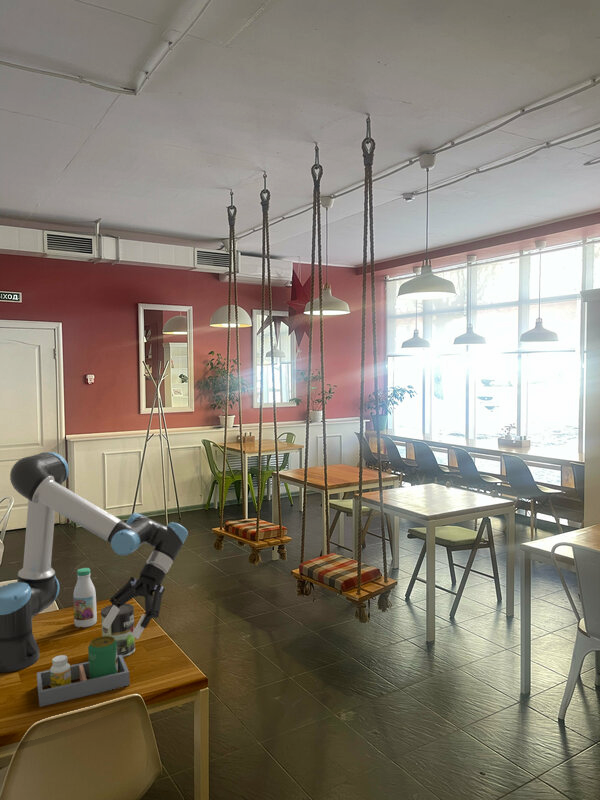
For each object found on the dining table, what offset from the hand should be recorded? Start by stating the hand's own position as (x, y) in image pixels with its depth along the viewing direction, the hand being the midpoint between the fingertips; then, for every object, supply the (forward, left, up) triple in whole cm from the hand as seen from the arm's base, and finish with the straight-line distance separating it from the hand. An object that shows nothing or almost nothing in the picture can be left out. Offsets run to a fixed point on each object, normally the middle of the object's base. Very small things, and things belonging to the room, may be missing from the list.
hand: (119, 632), depth 183 cm
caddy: (+2, -11, -13) cm, 17 cm away
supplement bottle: (+2, -17, -13) cm, 21 cm away
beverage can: (+2, -5, -13) cm, 14 cm away
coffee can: (-16, +2, -13) cm, 21 cm away
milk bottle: (-45, -5, -13) cm, 47 cm away
